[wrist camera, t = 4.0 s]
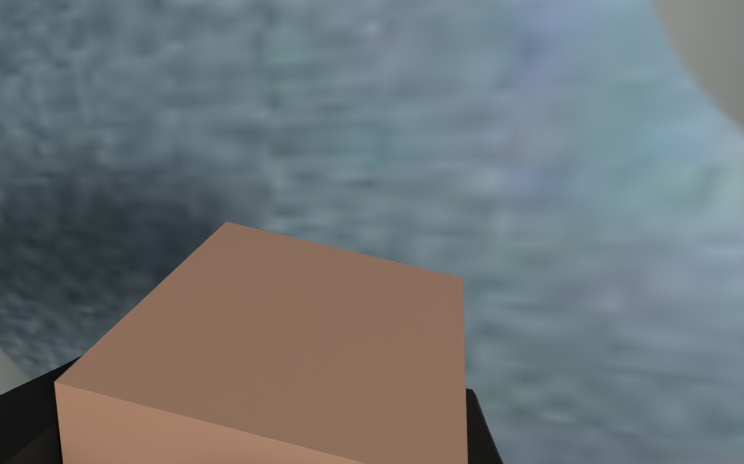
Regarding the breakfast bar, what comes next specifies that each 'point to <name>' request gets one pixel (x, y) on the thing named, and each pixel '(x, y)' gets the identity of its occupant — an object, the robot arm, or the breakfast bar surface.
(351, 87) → the breakfast bar surface
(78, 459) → the terracotta cube
